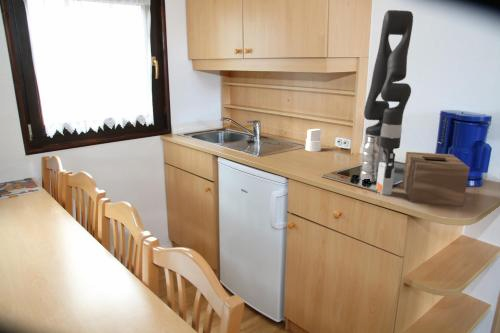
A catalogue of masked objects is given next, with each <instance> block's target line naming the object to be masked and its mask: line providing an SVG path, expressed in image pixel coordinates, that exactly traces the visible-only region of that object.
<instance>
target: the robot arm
mask: <svg viewBox="0 0 500 333" xmlns="http://www.w3.org/2000/svg"><path fill="white" fill-rule="evenodd" d="M413 25H414V14H413V12H412V11H409V10H396V9H394V10H393V9H389V10H387V11H386V12H385V13H384V15H383V20H382V26H381V31H380V39H379V44H378V50H377V54H376V58H375V63H374V66H373V72H372V76H371V77H372V78H371V84H370V86H369V87H370V88H369V92H368V95H367V98H366V102H365V105H364V109H363V110H364V111H363V116H364V119H365V120H368V121H378V122H377V123H375V124H373V125H371V126H368V127H366V128H365V134H364V135H365V136H364V143H363V144H364V145H363V147H364V146H365V145H366V144H367V143H368V141H367V140H368V137H377V142H376V144H377V146H378V148H379V152H378V156H377V161H376V172H378V168H379V162H384V163H385V164H386V167H385V168H386V170H385V178H389V179H390V178H391V172H392V169H394V166H395V161H396V160H395V159H396V153H395V152H394V150H397V149H399V148H400V147H401V139H402V131H403V127H402V126H403V117H404V112H405V108H406V106H407V104H408V101H409V99H410V97H411V95H412V94H411V93H412V88H411V86H410V84H409V83H405V82H401V83H400V81H403V80H405V79H406V76H407V69H408V68H407V65H408V62H407V61H408V53H409V48H410V43H411V37H412V32H413ZM391 35H393V36H402V37H401V39H400V41H399V43H398V44H397V45H396V47H395V48H394V49H393V50H392V48H391V44H390V39H389V37H390V36H391ZM379 95H380V97H381V99H382V100H377V99H378V97H379ZM390 102H391V103H392V102H393V103H398V104H397V105H396V106H393V107H390V104H389V103H390ZM389 164H391V166H389ZM362 167H363V161H362V164H361V168H362Z"/></svg>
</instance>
